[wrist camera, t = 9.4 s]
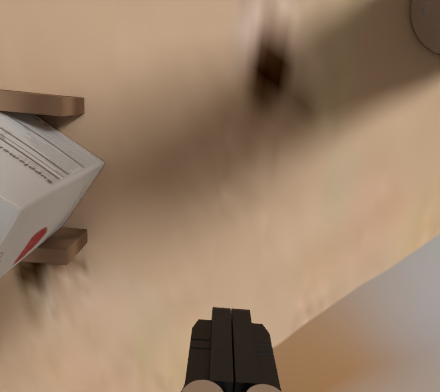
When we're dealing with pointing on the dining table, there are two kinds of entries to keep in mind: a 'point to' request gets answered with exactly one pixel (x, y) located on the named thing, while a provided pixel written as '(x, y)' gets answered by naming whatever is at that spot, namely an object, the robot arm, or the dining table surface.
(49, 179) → the supplement box
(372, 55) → the dining table surface
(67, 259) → the brown wooden box
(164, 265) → the dining table surface
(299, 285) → the dining table surface
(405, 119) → the dining table surface
